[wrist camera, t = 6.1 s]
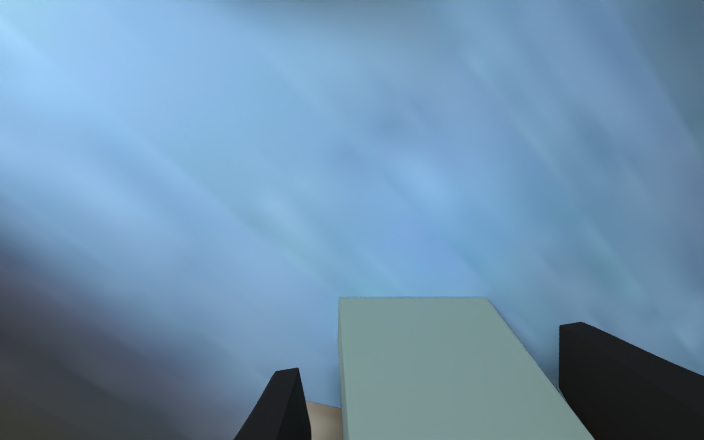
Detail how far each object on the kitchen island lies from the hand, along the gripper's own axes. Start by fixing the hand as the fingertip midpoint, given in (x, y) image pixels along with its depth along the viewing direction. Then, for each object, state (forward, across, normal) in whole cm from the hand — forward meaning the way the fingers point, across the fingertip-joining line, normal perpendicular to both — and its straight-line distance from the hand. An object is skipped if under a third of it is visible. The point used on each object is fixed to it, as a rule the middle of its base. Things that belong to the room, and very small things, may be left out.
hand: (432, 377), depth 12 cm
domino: (+3, 0, 0) cm, 3 cm away
